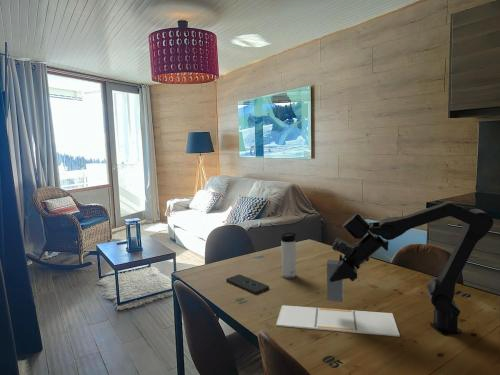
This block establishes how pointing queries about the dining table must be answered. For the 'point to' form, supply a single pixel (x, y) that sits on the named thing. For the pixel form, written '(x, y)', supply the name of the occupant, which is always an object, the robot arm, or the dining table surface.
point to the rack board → (338, 320)
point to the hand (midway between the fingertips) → (330, 278)
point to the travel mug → (288, 255)
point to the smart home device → (247, 284)
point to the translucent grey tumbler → (334, 283)
